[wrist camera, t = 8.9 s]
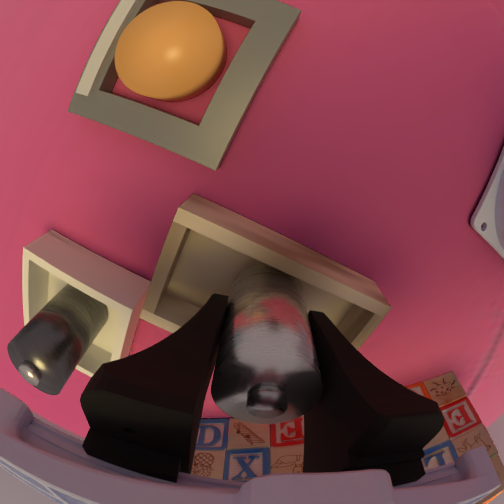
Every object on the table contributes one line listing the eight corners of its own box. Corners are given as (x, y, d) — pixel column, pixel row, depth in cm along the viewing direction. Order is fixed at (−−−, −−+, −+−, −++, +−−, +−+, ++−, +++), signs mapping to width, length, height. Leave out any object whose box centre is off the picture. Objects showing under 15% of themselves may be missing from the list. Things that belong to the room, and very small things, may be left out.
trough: (374, 281, 15) (391, 307, 12) (317, 356, 17) (323, 387, 14) (193, 193, 13) (178, 207, 11) (155, 290, 15) (139, 317, 13)
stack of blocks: (214, 451, 22) (199, 565, 11) (191, 416, 20) (163, 555, 9) (437, 411, 20) (477, 513, 9) (454, 368, 18) (514, 486, 6)
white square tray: (151, 281, 15) (132, 309, 12) (127, 360, 18) (113, 388, 15) (52, 229, 14) (23, 247, 11) (45, 314, 17) (25, 336, 14)
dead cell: (112, 296, 15) (54, 375, 9) (104, 336, 16) (58, 411, 10) (65, 271, 14) (-3, 334, 8) (62, 311, 16) (7, 376, 10)
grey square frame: (298, 20, 10) (302, 7, 8) (219, 167, 13) (214, 171, 11) (149, -22, 9) (139, -34, 7) (80, 111, 11) (64, 111, 10)
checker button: (243, 33, 10) (240, 16, 8) (199, 115, 12) (188, 112, 10) (160, 9, 9) (145, -7, 8) (119, 86, 11) (98, 81, 9)
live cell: (309, 268, 13) (341, 374, 7) (293, 327, 14) (306, 437, 8) (234, 256, 13) (212, 360, 7) (226, 318, 14) (206, 428, 8)
